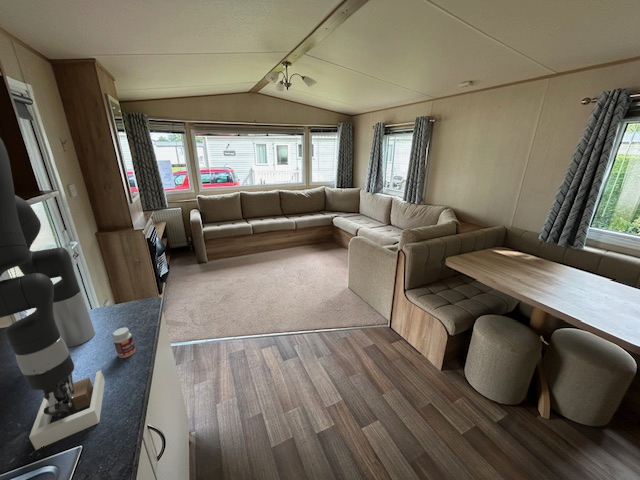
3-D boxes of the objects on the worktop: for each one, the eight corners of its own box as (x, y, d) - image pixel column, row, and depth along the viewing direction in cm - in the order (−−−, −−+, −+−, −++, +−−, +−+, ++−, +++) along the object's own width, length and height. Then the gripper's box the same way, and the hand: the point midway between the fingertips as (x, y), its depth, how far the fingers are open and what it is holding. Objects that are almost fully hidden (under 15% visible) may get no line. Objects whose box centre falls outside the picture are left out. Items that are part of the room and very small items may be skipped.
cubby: (52, 400, 70) (47, 389, 68) (104, 381, 75) (100, 370, 74) (35, 449, 58) (29, 437, 57) (99, 422, 64) (94, 410, 62)
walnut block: (64, 399, 70) (59, 387, 69) (93, 388, 73) (89, 377, 72) (59, 417, 65) (53, 405, 64) (90, 405, 68) (85, 393, 67)
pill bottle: (126, 359, 83) (120, 337, 80) (114, 357, 84) (107, 335, 81) (139, 348, 87) (133, 327, 85) (127, 346, 88) (121, 325, 86)
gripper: (31, 349, 62) (56, 404, 67) (10, 389, 51) (41, 451, 57) (74, 337, 66) (94, 390, 71) (61, 372, 55) (86, 431, 61)
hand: (70, 417), depth 64 cm, fingers closed
